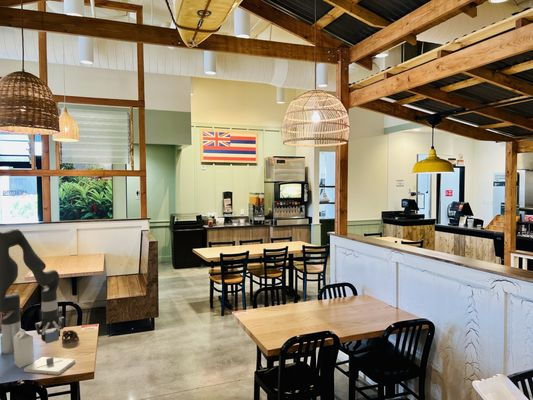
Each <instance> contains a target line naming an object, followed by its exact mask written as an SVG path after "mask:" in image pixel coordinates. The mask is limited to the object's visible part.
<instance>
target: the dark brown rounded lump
mask: <svg viewBox="0 0 533 400" xmlns="http://www.w3.org/2000/svg"><path fill="white" fill-rule="evenodd" d="M79 339H80V338H79V336H78V333H77V332H76V331H75V330H72V329H71V330H64V331H62V335H61V344H62V345H63V346H65V345H66V344H70V343H71V342H72V343H73V341H74V340H79Z"/></svg>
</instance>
